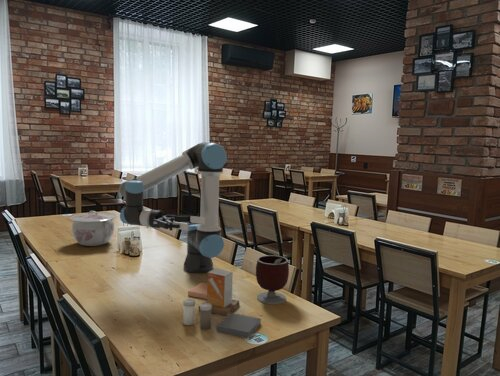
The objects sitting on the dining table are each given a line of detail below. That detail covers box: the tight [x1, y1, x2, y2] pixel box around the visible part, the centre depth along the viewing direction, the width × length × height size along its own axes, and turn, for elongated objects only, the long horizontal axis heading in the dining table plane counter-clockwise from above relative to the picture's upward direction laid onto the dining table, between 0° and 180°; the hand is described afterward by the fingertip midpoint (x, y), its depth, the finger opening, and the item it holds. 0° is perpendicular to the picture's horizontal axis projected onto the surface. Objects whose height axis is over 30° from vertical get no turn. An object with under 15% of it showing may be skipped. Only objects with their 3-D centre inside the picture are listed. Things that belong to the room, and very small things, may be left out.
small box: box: [206, 268, 233, 308], centre depth 166 cm, size 8×6×13 cm
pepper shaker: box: [199, 302, 212, 331], centre depth 150 cm, size 4×4×8 cm
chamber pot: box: [68, 210, 118, 247], centre depth 257 cm, size 28×28×21 cm
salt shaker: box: [182, 298, 196, 326], centre depth 153 cm, size 4×4×8 cm
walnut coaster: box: [198, 298, 240, 318], centre depth 167 cm, size 12×12×2 cm
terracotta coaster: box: [187, 281, 207, 300], centre depth 183 cm, size 12×12×2 cm
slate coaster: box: [216, 312, 262, 339], centre depth 151 cm, size 12×12×2 cm
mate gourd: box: [255, 254, 290, 305], centre depth 177 cm, size 16×14×20 cm
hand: (196, 223), depth 173 cm, fingers open, 13 cm apart
